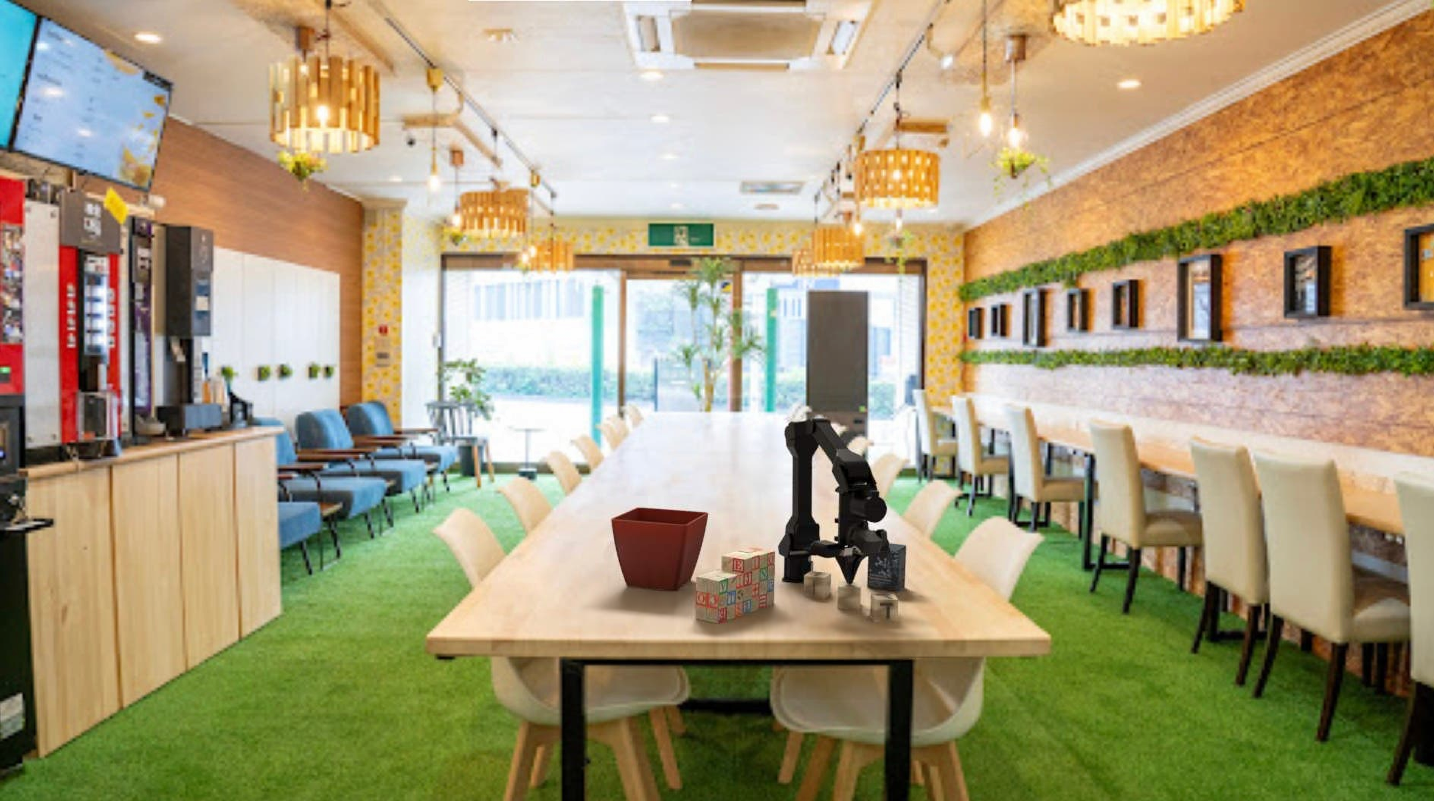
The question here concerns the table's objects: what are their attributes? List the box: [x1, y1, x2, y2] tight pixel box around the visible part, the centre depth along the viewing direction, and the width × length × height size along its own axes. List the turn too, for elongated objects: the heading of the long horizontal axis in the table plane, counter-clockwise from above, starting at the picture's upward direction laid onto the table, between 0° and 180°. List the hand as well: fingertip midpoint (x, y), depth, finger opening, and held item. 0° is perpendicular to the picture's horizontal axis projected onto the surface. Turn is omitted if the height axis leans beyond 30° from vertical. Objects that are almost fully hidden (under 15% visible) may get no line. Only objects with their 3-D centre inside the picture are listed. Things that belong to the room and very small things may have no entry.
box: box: [866, 542, 907, 593], centre depth 232 cm, size 8×6×11 cm
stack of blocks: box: [694, 547, 776, 624], centre depth 209 cm, size 21×6×12 cm, turn 143°
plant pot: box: [610, 506, 709, 592], centre depth 232 cm, size 19×19×17 cm
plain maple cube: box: [836, 580, 862, 611], centre depth 215 cm, size 5×5×5 cm
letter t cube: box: [869, 592, 899, 623], centre depth 205 cm, size 5×5×5 cm
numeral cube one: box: [803, 570, 832, 599], centre depth 224 cm, size 5×5×5 cm
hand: (849, 583), depth 214 cm, fingers closed
